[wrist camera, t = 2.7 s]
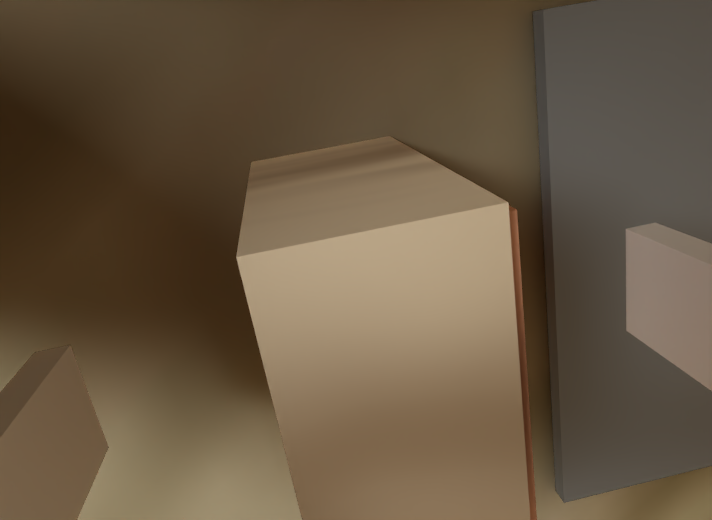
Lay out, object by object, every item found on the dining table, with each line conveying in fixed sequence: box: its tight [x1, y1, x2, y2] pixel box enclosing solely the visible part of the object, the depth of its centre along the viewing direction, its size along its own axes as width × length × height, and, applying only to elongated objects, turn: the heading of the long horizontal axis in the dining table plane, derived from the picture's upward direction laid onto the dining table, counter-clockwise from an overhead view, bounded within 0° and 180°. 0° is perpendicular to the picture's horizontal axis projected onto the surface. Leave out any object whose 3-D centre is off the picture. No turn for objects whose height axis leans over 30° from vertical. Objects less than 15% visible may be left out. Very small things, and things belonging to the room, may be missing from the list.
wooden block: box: [236, 136, 537, 520], centre depth 13 cm, size 7×4×8 cm, turn 9°
